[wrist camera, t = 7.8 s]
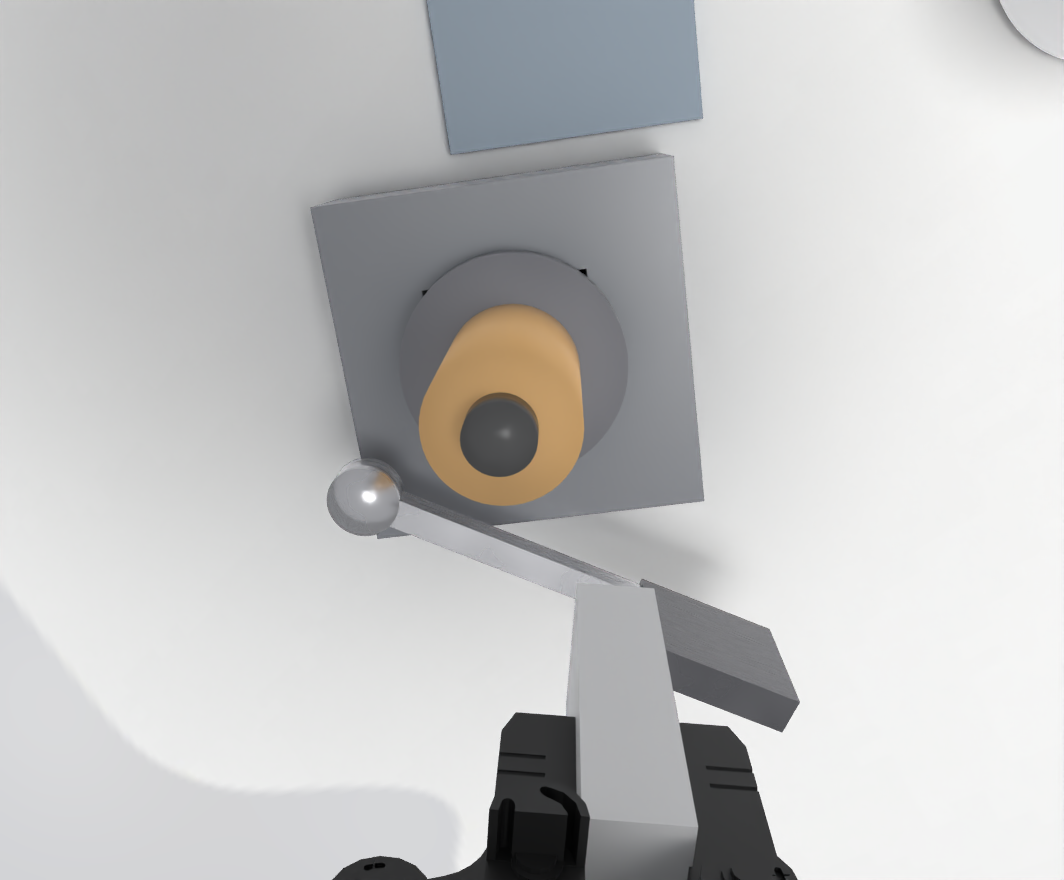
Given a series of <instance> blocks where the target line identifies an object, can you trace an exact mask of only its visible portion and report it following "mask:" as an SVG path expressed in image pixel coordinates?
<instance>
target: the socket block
mask: <svg viewBox="0 0 1064 880" xmlns="http://www.w3.org/2000/svg"><path fill="white" fill-rule="evenodd" d="M311 213H312V218H313V223H314V228H315V233H316V238H317V242H318V247H319V252H320V257H321V262H322V267H323V272H324V277H325V282H326V287H327V292H328V297H329V302H330V307H331V312H332V317H333V321H334V326H335V331H336V336H337V341H338V346H339V351H340V356H341V361H342V366H343V371H344V376H345V381H346V386H347V391H348V396H349V400H350V405H351V410H352V415H353V420H354V425H355V430H356V435H357V440H358V445H359V450H360V455H361V458H374V459H378V460H381V461H383V462H385V463H387V464H389V465H390V466H391V467H392V468H393V469H394V470H395V471H396V472H397V473H398V475H399V476H400V478H401V480H402V483H403V487H404V491H405V492H407V493H410V494H412V495H415V496H417V497H420V498H422V499H425V500H427V501H430V502H432V503H435V504H438V505H440V506H443V507H445V508H448V509H450V510H453V511H455V512H458V513H460V514H463V515H465V516H468V517H470V518H473V519H476V520H478V521H481V522H483V523H486V524H488V525H491V526H493V525H502V524H510V523H519V522H528V521H536V520H545V519H554V518H562V517H571V516H579V515H588V514H597V513H605V512H614V511H623V510H631V509H640V508H649V507H657V506H666V505H674V504H683V503H692V502H700V501H704V493H703V481H702V470H701V459H700V448H699V436H698V425H697V414H696V403H695V391H694V380H693V369H692V358H691V346H690V335H689V324H688V313H687V301H686V290H685V279H684V268H683V256H682V245H681V234H680V223H679V211H678V200H677V189H676V178H675V166H674V156H671V155H666V154H654V155H647V156H640V157H633V158H626V159H619V160H612V161H605V162H598V163H591V164H584V165H577V166H570V167H562V168H555V169H548V170H541V171H534V172H527V173H520V174H513V175H506V176H499V177H492V178H485V179H478V180H471V181H464V182H457V183H450V184H443V185H436V186H428V187H421V188H414V189H407V190H400V191H393V192H386V193H379V194H372V195H365V196H358V197H351V198H344V199H337V200H334V201H330V202H327V203H324V204H321V205H317V206H314V207H311ZM509 250H518V251H530V252H535V253H540V254H545V255H548V256H551V257H553V258H556V259H559V260H561V261H563V262H565V263H567V264H569V265H571V266H573V267H574V268H576V269H577V270H580V269H586V275H587V277H588V278H589V279H590V280H591V281H592V282H593V283H594V284H595V285H596V286H597V287H598V288H599V289H600V290H601V292H602V293H603V294H604V295H605V297H606V298H607V300H608V301H609V303H610V304H611V306H612V307H613V309H614V311H615V313H616V316H617V318H618V320H619V322H620V325H621V329H622V332H623V335H624V338H625V342H626V348H627V353H628V381H627V387H626V392H625V396H624V400H623V402H622V405H621V408H620V410H619V413H618V415H617V417H616V418H615V420H614V422H613V424H612V426H611V427H610V428H609V430H608V431H607V433H606V434H605V435H604V437H603V438H602V439H601V440H600V441H599V442H598V443H597V444H596V445H595V446H594V447H593V448H592V449H591V450H590V451H588V452H587V453H586V454H585V455H583V456H582V457H581V458H579V459H577V461H576V463H575V465H574V467H573V469H572V470H571V471H570V473H569V474H568V476H567V477H566V478H565V479H564V480H563V481H562V482H561V483H560V484H559V485H558V486H557V487H555V488H554V489H553V490H552V491H550V492H549V493H547V494H545V495H544V496H542V497H540V498H537V499H535V500H533V501H530V502H526V503H523V504H517V505H509V506H497V505H489V504H483V503H480V502H476V501H473V500H471V499H468V498H466V497H464V496H462V495H460V494H459V493H457V492H456V491H454V490H452V489H451V488H450V487H449V486H448V485H446V484H445V483H444V482H443V481H442V480H441V479H440V478H439V477H438V476H437V474H436V473H435V472H434V470H433V469H432V468H431V466H430V464H429V462H428V461H427V459H426V456H425V454H424V451H423V449H422V445H421V441H420V435H419V426H418V425H417V423H416V422H415V420H414V418H413V416H412V414H411V413H410V410H409V408H408V405H407V403H406V400H405V398H404V394H403V390H402V386H401V379H400V371H399V363H400V349H401V343H402V338H403V335H404V332H405V328H406V325H407V323H408V321H409V319H410V317H411V314H412V312H413V311H414V309H415V308H416V306H417V304H418V303H419V301H420V300H421V299H422V297H423V296H424V295H425V294H426V293H427V291H428V290H429V289H430V288H431V287H432V285H433V284H434V283H435V282H437V281H438V280H439V279H440V278H441V277H442V276H443V275H444V274H446V273H447V272H448V271H450V270H451V269H453V268H454V267H456V266H457V265H459V264H461V263H463V262H465V261H467V260H469V259H472V258H475V257H477V256H480V255H483V254H488V253H492V252H497V251H509ZM407 535H410V534H408V533H405V532H402V531H400V530H397V529H395V528H392V527H390V526H389V527H388V528H387V529H386V530H384V531H383V532H381V533H378V534H377V539H381V538H390V537H398V536H407Z"/></svg>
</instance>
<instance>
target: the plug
mask: <svg viewBox="0 0 1064 880" xmlns="http://www.w3.org/2000/svg"><path fill="white" fill-rule="evenodd" d="M399 371H400V379H401V386H402V390H403V394H404V398H405V400H406V403H407V405H408V408H409V410H410V413H411V414H412V416H413V418H414V420H415V422H416V423H417V425H418V426H419V435H420V441H421V445H422V449H423V451H424V454H425V456H426V459H427V461H428V462H429V464H430V466H431V468H432V469H433V470H434V472H435V473H436V474H437V476H438V477H439V478H440V479H441V480H442V481H443V482H444V483H445V484H446V485H448V486H449V487H450V488H451V489H452V490H454V491H456V492H457V493H459V494H460V495H462V496H464V497H466V498H468V499H471V500H473V501H476V502H480V503H483V504H489V505H497V506H509V505H517V504H523V503H526V502H530V501H533V500H535V499H537V498H540V497H542V496H544V495H545V494H547V493H549V492H550V491H552V490H553V489H554V488H555V487H557V486H558V485H559V484H560V483H561V482H562V481H563V480H564V479H565V478H566V477H567V476H568V474H569V473H570V471H571V470H572V469H573V467H574V465H575V463H576V461H577V459H579V458H581V457H582V456H583V455H585V454H586V453H587V452H588V451H590V450H591V449H592V448H593V447H594V446H595V445H596V444H597V443H598V442H599V441H600V440H601V439H602V438H603V437H604V435H605V434H606V433H607V431H608V430H609V428H610V427H611V426H612V424H613V422H614V420H615V418H616V417H617V415H618V413H619V410H620V408H621V405H622V402H623V400H624V396H625V392H626V387H627V381H628V353H627V348H626V342H625V338H624V335H623V332H622V329H621V325H620V322H619V320H618V318H617V316H616V313H615V311H614V309H613V307H612V306H611V304H610V303H609V301H608V300H607V298H606V297H605V295H604V294H603V293H602V292H601V290H600V289H599V288H598V287H597V286H596V285H595V284H594V283H593V282H592V281H591V280H590V279H589V278H588V277H587V276H585V275H584V274H583V273H581V272H580V271H578V270H577V269H576V268H574V267H573V266H571V265H569V264H567V263H565V262H563V261H561V260H559V259H556V258H553V257H551V256H548V255H545V254H540V253H535V252H530V251H518V250H509V251H497V252H492V253H488V254H483V255H480V256H477V257H475V258H472V259H469V260H467V261H465V262H463V263H461V264H459V265H457V266H456V267H454V268H453V269H451V270H450V271H448V272H447V273H446V274H444V275H443V276H442V277H441V278H440V279H439V280H438V281H437V282H435V283H434V284H433V285H432V287H431V288H430V289H429V290H428V291H427V293H426V294H425V295H424V296H423V297H422V299H421V300H420V301H419V303H418V304H417V306H416V308H415V309H414V311H413V312H412V314H411V317H410V319H409V321H408V323H407V325H406V328H405V332H404V335H403V338H402V343H401V349H400V363H399Z"/></svg>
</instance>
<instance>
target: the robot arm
mask: <svg viewBox="0 0 1064 880" xmlns="http://www.w3.org/2000/svg"><path fill="white" fill-rule="evenodd" d="M333 880H797V878H796V876H795V874H794V872H793V870H792V869H791V868H790V867H789V866H788V865H787V864H785V863H784V862H783V861H782V860H781V859H780V858H779V857H777V855H776V851H775V848H774V844H773V840H772V837H771V833H770V830H769V826H768V823H767V819H766V816H765V812H764V809H763V805H762V802H761V798H760V795H759V792H757V784H756V781H755V777H754V773H752V766H751V763H750V759H749V756H748V752H747V749H746V746H745V745H744V744H743V743H742V742H741V741H740V740H739V738H738V737H737V736H736V735H735V734H734V733H733V732H732V730H731V729H730V728H729V727H728V726H716V725H703V724H690V723H679V720H678V714H677V709H676V704H675V698H674V693H673V687H672V682H671V676H670V671H669V666H668V660H667V655H666V649H665V644H664V638H663V633H662V628H661V622H660V617H659V611H658V606H657V600H656V595H655V590H654V588H643V587H629V586H616V585H603V584H589V583H577V587H576V598H575V610H574V621H573V632H572V643H571V655H570V666H569V677H568V688H567V700H566V716H556V715H543V714H530V713H517V712H516V713H515V714H514V716H513V717H512V718H511V719H510V721H509V722H508V723H507V724H506V726H505V727H504V728H503V729H502V732H501V741H500V751H499V760H498V769H497V779H496V788H495V797H494V799H493V801H492V804H491V806H490V809H489V823H488V839H487V848H486V850H485V851H484V853H483V854H482V856H481V857H480V858H479V859H478V860H477V861H475V862H474V863H473V864H472V865H471V866H469V867H467V868H465V869H463V870H461V871H459V872H456V873H453V874H449V875H446V876H442V877H436V878H431V879H427V877H426V876H425V875H424V874H423V873H422V872H421V871H420V870H419V869H418V868H417V867H416V866H415V865H413V864H411V863H409V862H406V861H404V860H402V859H400V858H392V857H384V856H378V857H372V858H367V859H361V860H359V861H357V862H355V863H353V864H351V865H349V866H347V867H345V868H343V869H342V870H341V871H340V872H339V873H338V875H337V876H336V877H335V878H334V879H333Z"/></svg>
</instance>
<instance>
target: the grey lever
mask: <svg viewBox="0 0 1064 880" xmlns="http://www.w3.org/2000/svg"><path fill="white" fill-rule="evenodd" d="M327 506H328V510H329V513H330V515H331V517H332V518H333V520H334V521H335V522H336V523H337V524H338V525H339V526H340V527H341V528H342V529H344V530H345V531H347V532H349V533H352V534H355V535H360V536H371V535H375V534H378V533H381V532H383V531H384V530H386V529H387V528H388V527H389V526H390V527H392V528H395V529H397V530H400V531H402V532H405V533H408V534H410V535H413V536H415V537H418V538H420V539H423V540H426V541H428V542H431V543H433V544H436V545H438V546H441V547H443V548H446V549H449V550H451V551H454V552H456V553H459V554H461V555H464V556H467V557H469V558H472V559H474V560H477V561H479V562H482V563H484V564H487V565H490V566H492V567H495V568H497V569H500V570H502V571H505V572H507V573H510V574H513V575H515V576H518V577H520V578H523V579H525V580H528V581H531V582H533V583H536V584H538V585H541V586H543V587H546V588H548V589H551V590H554V591H556V592H559V593H561V594H564V595H566V596H569V597H572V598H574V599H575V598H576V587H577V583H589V584H603V585H616V586H629V587H643V588H654V590H655V595H656V600H657V606H658V611H659V617H660V622H661V628H662V633H663V638H664V644H665V649H666V655H667V660H668V666H669V671H670V676H671V682H672V687H673V691H676V692H678V693H681V694H684V695H686V696H689V697H691V698H694V699H697V700H699V701H702V702H704V703H707V704H710V705H712V706H715V707H717V708H720V709H723V710H725V711H728V712H730V713H733V714H736V715H738V716H741V717H743V718H746V719H749V720H751V721H754V722H756V723H759V724H762V725H764V726H767V727H769V728H772V729H775V730H777V731H780V732H783V730H784V728H785V727H786V725H787V723H788V722H789V720H790V718H791V717H792V715H793V713H794V711H795V710H796V708H797V706H798V705H799V703H800V701H799V699H798V696H797V694H796V692H795V689H794V687H793V684H792V682H791V680H790V677H789V675H788V672H787V670H786V668H785V665H784V663H783V660H782V658H781V656H780V653H779V651H778V648H777V646H776V644H775V641H774V639H773V636H772V634H771V632H770V629H768V628H765V627H763V626H760V625H758V624H755V623H753V622H750V621H748V620H745V619H743V618H740V617H737V616H735V615H732V614H730V613H727V612H725V611H722V610H720V609H717V608H715V607H712V606H710V605H707V604H705V603H702V602H700V601H697V600H694V599H692V598H689V597H687V596H684V595H682V594H679V593H677V592H674V591H672V590H669V589H667V588H664V587H662V586H659V585H656V584H654V583H651V582H649V581H646V580H644V579H642V580H641V582H640V584H638V583H635V582H633V581H630V580H628V579H625V578H623V577H620V576H617V575H615V574H612V573H610V572H607V571H605V570H602V569H600V568H597V567H595V566H592V565H590V564H587V563H585V562H582V561H579V560H577V559H574V558H572V557H569V556H567V555H564V554H562V553H559V552H557V551H554V550H552V549H549V548H547V547H544V546H541V545H539V544H536V543H534V542H531V541H529V540H526V539H524V538H521V537H519V536H516V535H514V534H511V533H509V532H506V531H503V530H501V529H498V528H496V527H493V526H491V525H488V524H486V523H483V522H481V521H478V520H476V519H473V518H470V517H468V516H465V515H463V514H460V513H458V512H455V511H453V510H450V509H448V508H445V507H443V506H440V505H438V504H435V503H432V502H430V501H427V500H425V499H422V498H420V497H417V496H415V495H412V494H410V493H407V492H405V491H404V487H403V483H402V480H401V478H400V476H399V475H398V473H397V472H396V471H395V470H394V469H393V468H392V467H391V466H390V465H389V464H387V463H385V462H383V461H381V460H378V459H374V458H360V459H356V460H353V461H351V462H349V463H348V464H346V465H345V466H344V467H343V468H342V469H341V470H340V472H339V473H338V475H337V476H336V478H335V479H334V481H333V482H332V484H331V486H330V488H329V490H328V494H327Z"/></svg>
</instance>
